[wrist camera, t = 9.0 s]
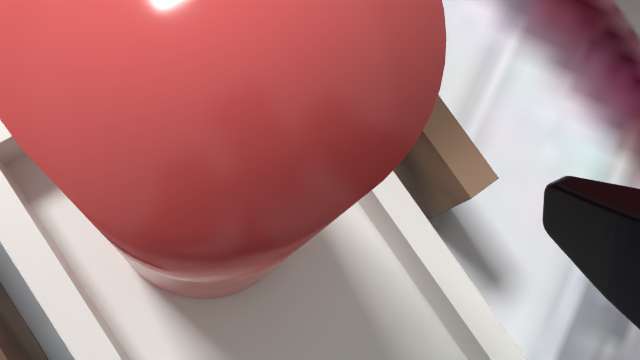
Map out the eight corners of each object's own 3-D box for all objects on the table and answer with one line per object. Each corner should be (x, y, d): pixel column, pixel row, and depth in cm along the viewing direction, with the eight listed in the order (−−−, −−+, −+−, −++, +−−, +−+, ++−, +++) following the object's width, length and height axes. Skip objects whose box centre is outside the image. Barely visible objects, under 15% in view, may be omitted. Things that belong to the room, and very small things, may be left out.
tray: (548, 409, 22) (780, 460, 13) (262, 674, 18) (324, 990, 9) (263, 6, 23) (304, -184, 15) (-54, 173, 19) (-248, 50, 11)
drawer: (448, 203, 23) (498, 178, 19) (70, 478, 18) (38, 517, 14) (161, -198, 25) (156, -294, 21) (-250, -40, 20) (-354, -127, 16)
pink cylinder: (329, 232, 21) (529, 83, 8) (177, 337, 19) (144, 345, 7) (232, 91, 21) (285, -244, 9) (76, 180, 19) (-131, -85, 7)
